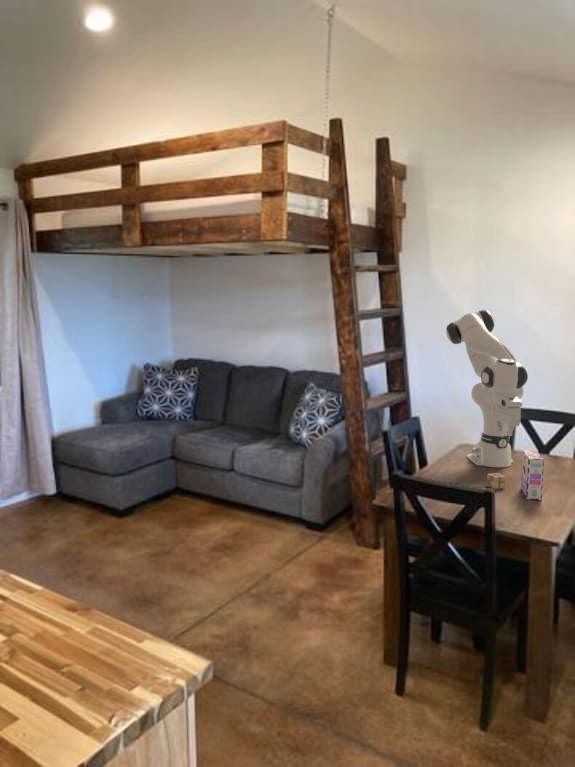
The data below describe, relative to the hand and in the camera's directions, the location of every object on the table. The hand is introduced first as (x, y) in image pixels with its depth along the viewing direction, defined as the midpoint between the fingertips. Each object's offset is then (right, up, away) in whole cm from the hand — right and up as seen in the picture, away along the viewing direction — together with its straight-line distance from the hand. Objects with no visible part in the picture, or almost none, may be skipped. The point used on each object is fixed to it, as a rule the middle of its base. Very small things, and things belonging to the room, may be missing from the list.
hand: (504, 433), depth 252 cm
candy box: (+8, -24, -6) cm, 26 cm away
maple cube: (-2, -22, +3) cm, 23 cm away
